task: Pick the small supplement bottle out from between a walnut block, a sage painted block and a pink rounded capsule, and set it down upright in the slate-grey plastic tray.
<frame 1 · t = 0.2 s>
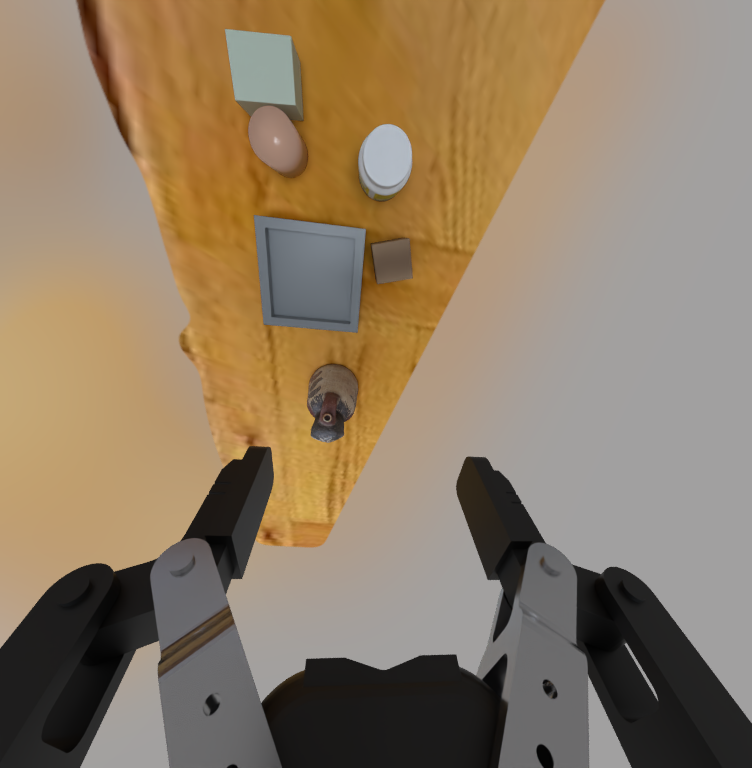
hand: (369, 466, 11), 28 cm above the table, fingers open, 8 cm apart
sage block: (275, 90, 26), on the table
walnut block: (389, 258, 34), on the table
pink rounded capsule: (287, 153, 28), on the table
supplement bottle: (380, 175, 30), on the table
tray: (314, 276, 34), on the table
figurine: (334, 383, 42), on the table
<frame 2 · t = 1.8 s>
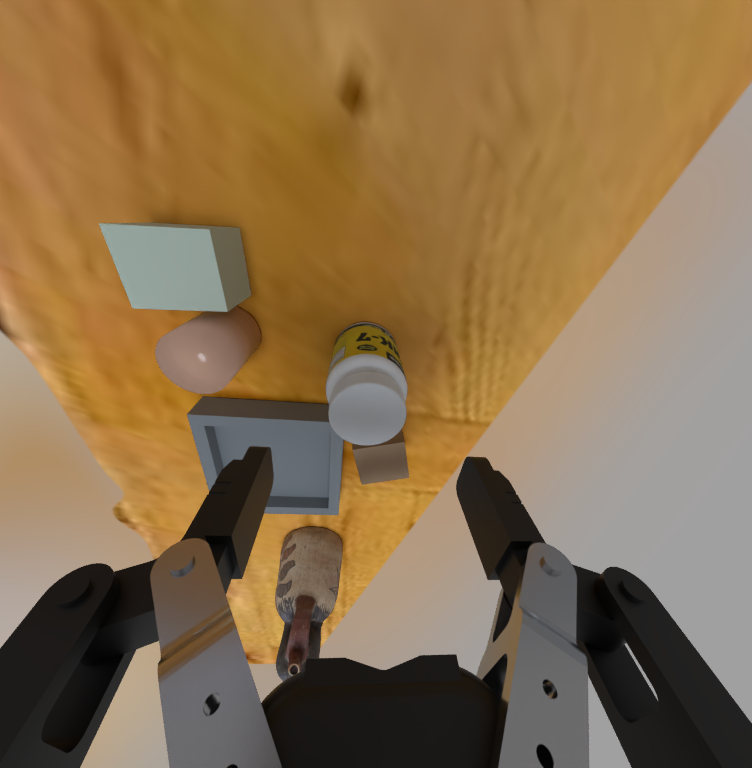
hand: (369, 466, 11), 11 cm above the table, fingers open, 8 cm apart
sage block: (206, 261, 18), on the table
walnut block: (379, 431, 25), on the table
pink rounded capsule: (232, 332, 20), on the table
supplement bottle: (365, 349, 21), on the table
tray: (280, 452, 26), on the table
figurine: (313, 541, 34), on the table
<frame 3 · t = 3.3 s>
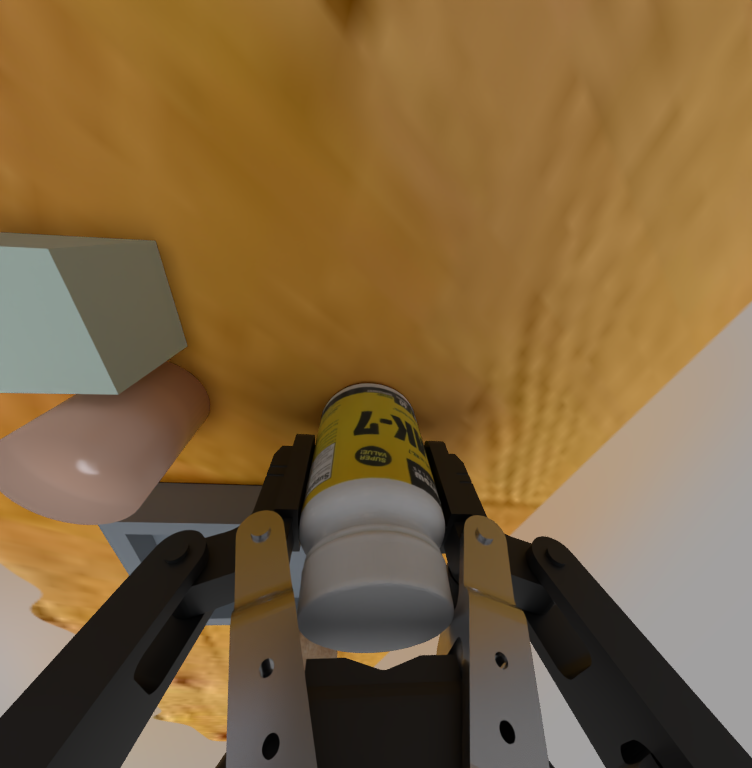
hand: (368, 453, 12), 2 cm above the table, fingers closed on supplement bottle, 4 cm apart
sage block: (106, 294, 11), on the table
pink rounded capsule: (163, 398, 13), on the table
supplement bottle: (367, 417, 14), on the table, touching gripper
tray: (250, 543, 19), on the table
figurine: (301, 631, 27), on the table
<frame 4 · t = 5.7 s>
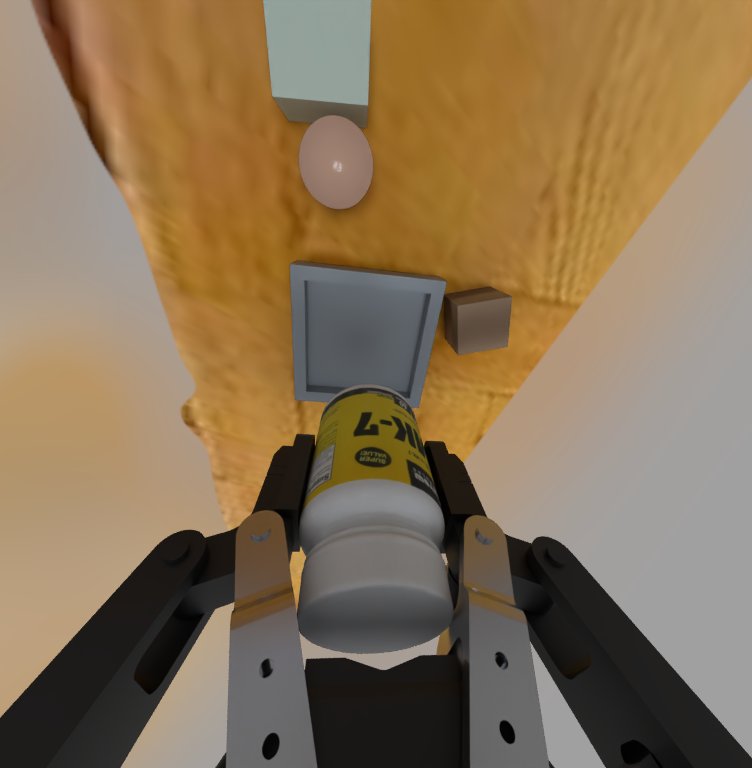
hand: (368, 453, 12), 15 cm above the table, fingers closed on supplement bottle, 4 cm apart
sage block: (327, 82, 17), on the table
walnut block: (466, 313, 25), on the table
pink rounded capsule: (340, 175, 19), on the table
supplement bottle: (367, 418, 14), point 12 cm above the table, touching gripper
tray: (363, 336, 25), on the table
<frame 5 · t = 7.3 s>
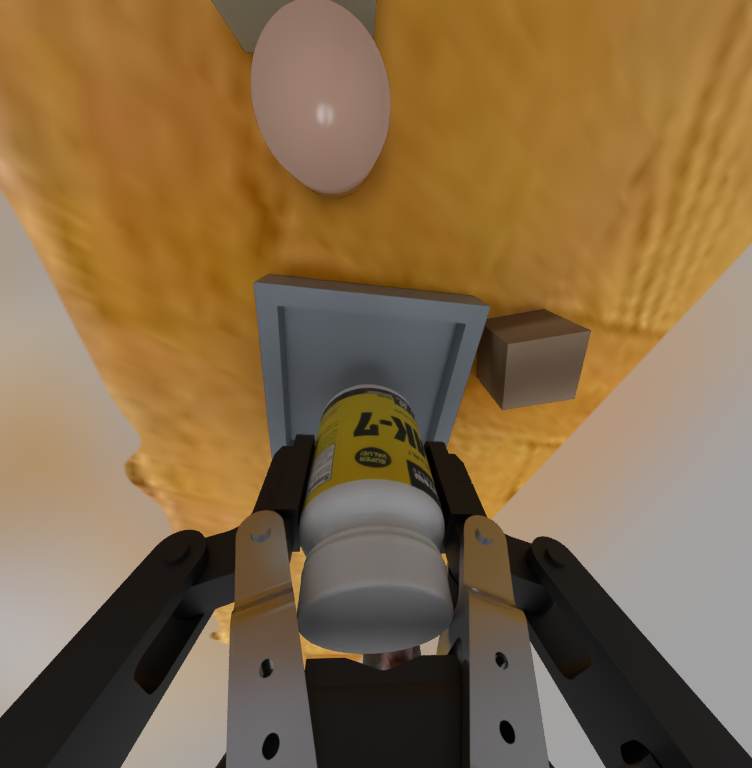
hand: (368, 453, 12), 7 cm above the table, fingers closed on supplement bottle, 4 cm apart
walnut block: (507, 344, 18), on the table
pink rounded capsule: (330, 144, 12), on the table
supplement bottle: (367, 418, 14), point 5 cm above the table, touching gripper
tray: (365, 376, 18), on the table
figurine: (382, 516, 26), on the table
when the fingers open (4 cm above the table, at t = 8.5 s): supplement bottle stays where it is, resting on tray.
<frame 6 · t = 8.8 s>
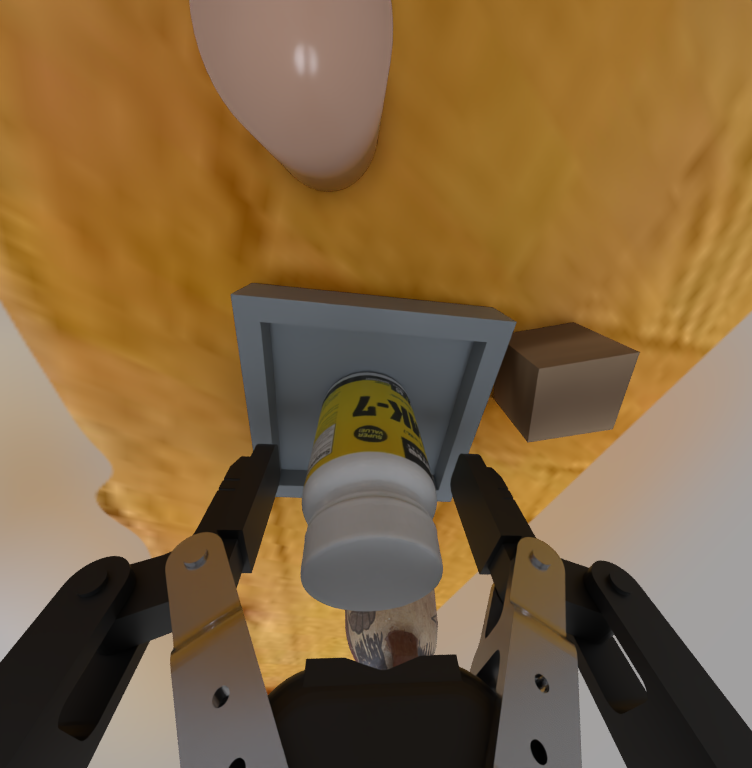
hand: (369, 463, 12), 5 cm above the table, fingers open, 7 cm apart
walnut block: (530, 362, 16), on the table
pink rounded capsule: (323, 125, 10), on the table
supplement bottle: (366, 406, 15), point 1 cm above the table, touching tray
tray: (366, 397, 16), on the table
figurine: (384, 544, 24), on the table
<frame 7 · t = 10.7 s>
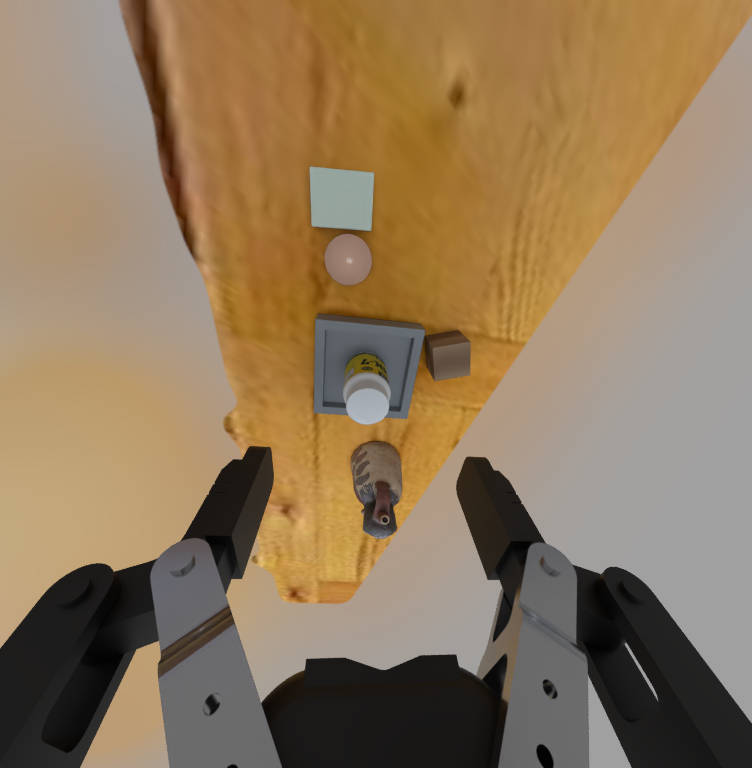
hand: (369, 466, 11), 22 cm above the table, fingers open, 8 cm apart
sage block: (343, 205, 26), on the table
walnut block: (441, 348, 33), on the table
pink rounded capsule: (351, 259, 28), on the table
supplement bottle: (365, 368, 33), point 1 cm above the table, touching tray
tray: (365, 365, 34), on the table
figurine: (375, 457, 41), on the table
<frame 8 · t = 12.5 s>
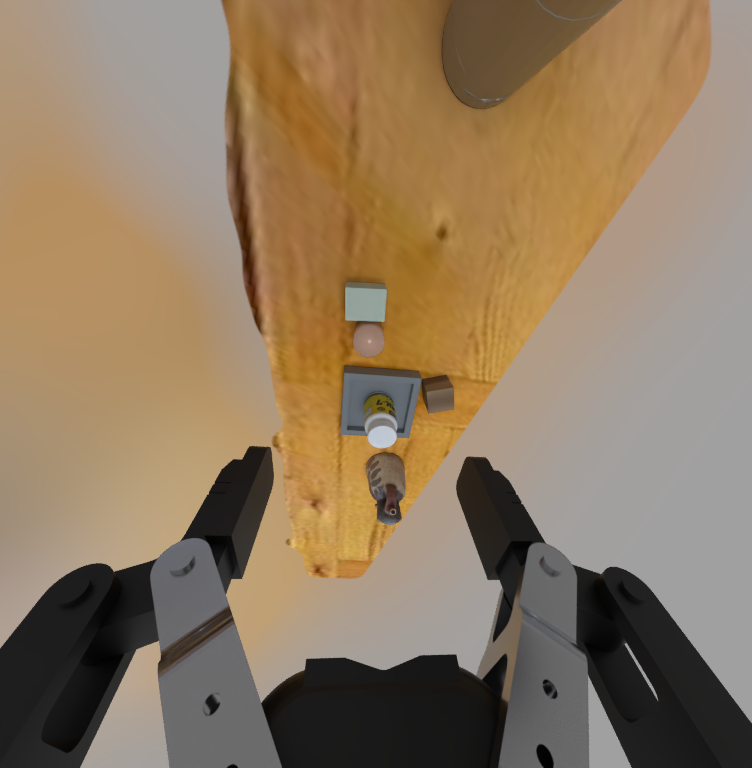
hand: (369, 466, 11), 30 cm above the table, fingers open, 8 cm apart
sage block: (365, 297, 38), on the table
walnut block: (434, 387, 45), on the table
pink rounded capsule: (369, 331, 40), on the table
supplement bottle: (378, 402, 45), point 1 cm above the table, touching tray
tray: (378, 399, 46), on the table
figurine: (384, 464, 54), on the table
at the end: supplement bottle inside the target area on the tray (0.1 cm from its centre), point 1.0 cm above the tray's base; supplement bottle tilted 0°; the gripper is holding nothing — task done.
